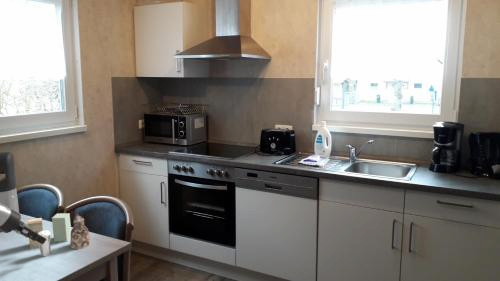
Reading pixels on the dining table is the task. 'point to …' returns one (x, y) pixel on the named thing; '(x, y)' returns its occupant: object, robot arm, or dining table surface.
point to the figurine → (79, 234)
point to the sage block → (61, 227)
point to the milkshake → (46, 246)
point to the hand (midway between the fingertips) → (40, 238)
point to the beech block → (37, 227)
